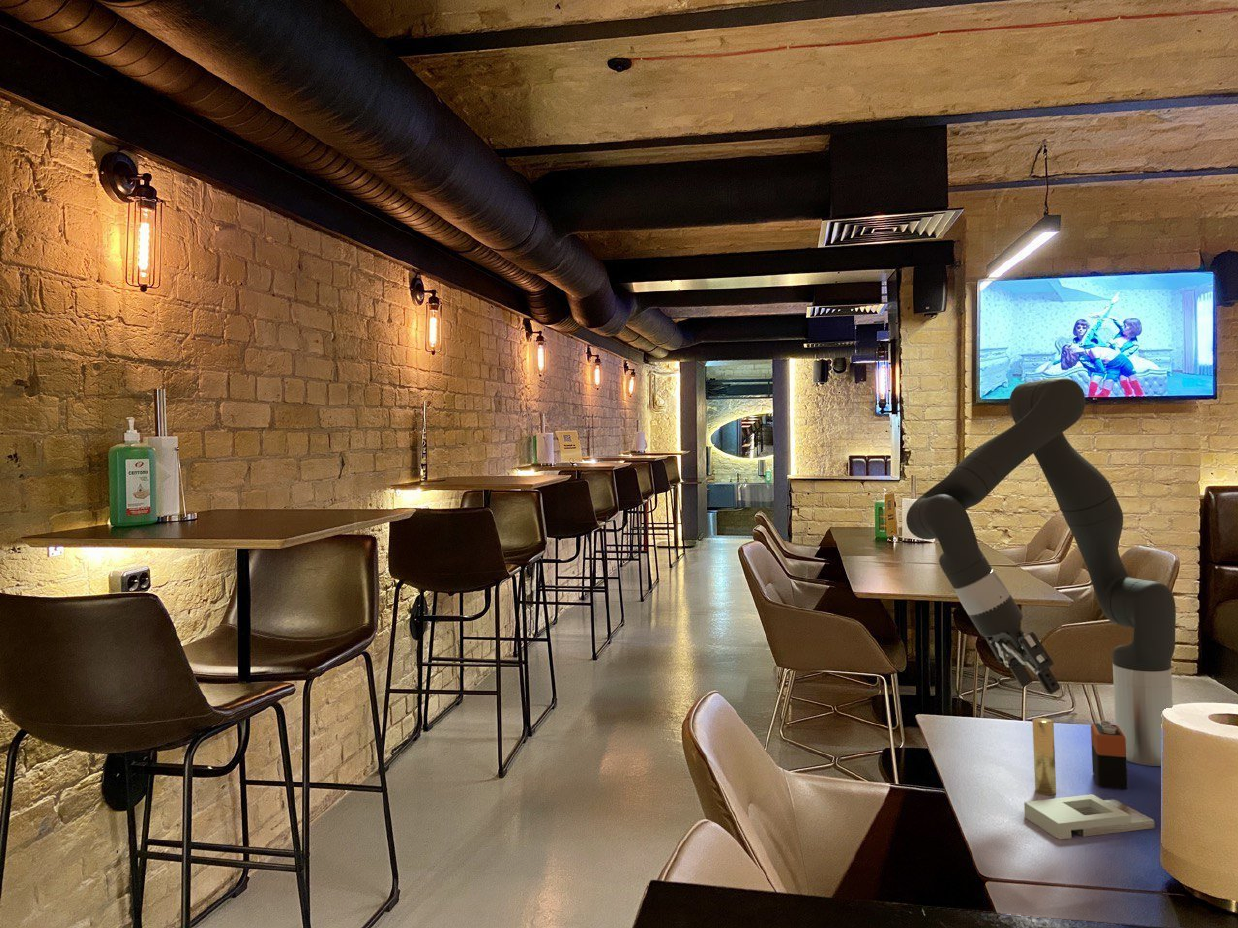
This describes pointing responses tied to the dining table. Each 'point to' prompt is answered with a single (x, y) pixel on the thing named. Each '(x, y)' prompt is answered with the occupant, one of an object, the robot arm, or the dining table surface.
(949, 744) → the dining table surface
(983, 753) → the dining table surface
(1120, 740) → the battery
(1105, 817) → the plate with square hole
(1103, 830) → the chain end lower
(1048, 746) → the pin
